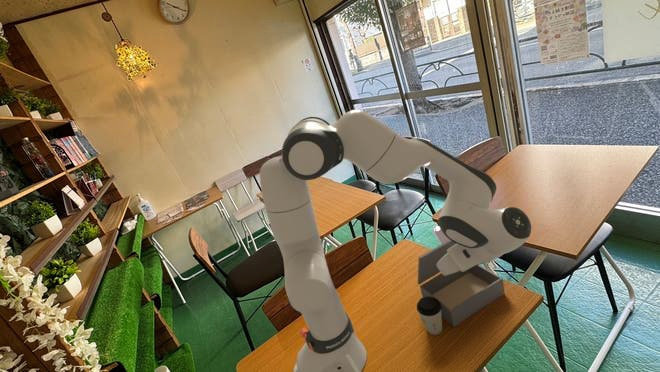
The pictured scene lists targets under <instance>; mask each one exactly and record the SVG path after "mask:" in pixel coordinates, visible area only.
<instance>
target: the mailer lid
mask: <svg viewBox="0 0 660 372" xmlns="http://www.w3.org/2000/svg"><path fill="white" fill-rule="evenodd" d="M455 244H456V243H455V242H453V241H451V240H448V241H447V242H445V243H443V244H440V245H438V246H436V247H435V248H433V249H431V250H429V251H427V252H426V253H423V254H422V255H420V256H419V257H418V265H417V267H418V268H417V284H418V285H422V284H424V283H425V282H427V281H429V279H432V277H433V278H434V277H435V276H437V275H439V274H440V273H441V272H440V271H439V269H438V267H437V265H436V264H437V262H438V261H439V260H440V259H441V258H442V257H443V256H444V255H445V254H447V253H448V252H447V250H448V249H449V248H450V247H452V246H453V245H455Z"/></svg>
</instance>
